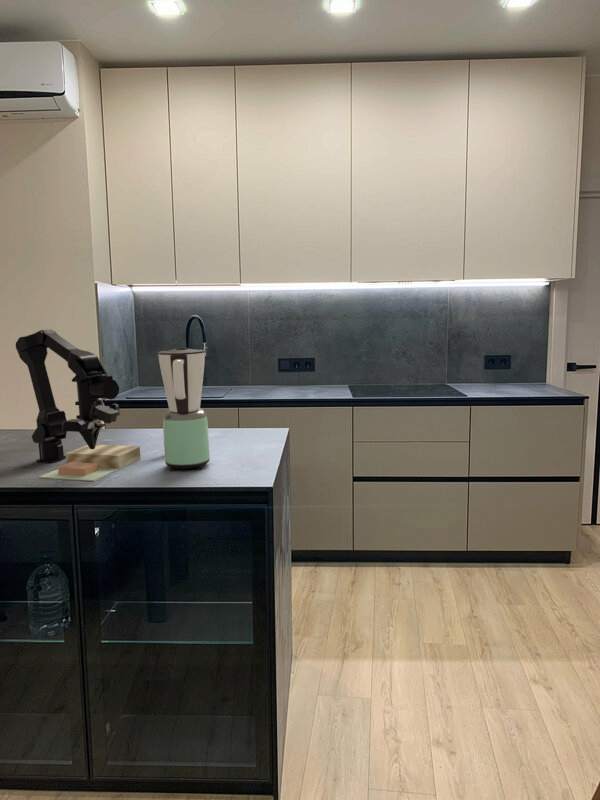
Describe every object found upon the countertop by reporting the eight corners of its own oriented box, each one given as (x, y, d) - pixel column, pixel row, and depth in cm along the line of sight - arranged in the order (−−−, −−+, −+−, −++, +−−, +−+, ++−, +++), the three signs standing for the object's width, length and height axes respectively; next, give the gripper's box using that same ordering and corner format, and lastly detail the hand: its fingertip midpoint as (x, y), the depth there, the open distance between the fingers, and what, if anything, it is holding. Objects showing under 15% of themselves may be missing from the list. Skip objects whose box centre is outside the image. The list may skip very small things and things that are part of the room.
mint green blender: (168, 460, 186) (161, 346, 180) (211, 457, 187) (206, 345, 182) (160, 477, 167) (152, 351, 162) (208, 474, 168) (202, 349, 163)
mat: (38, 477, 170) (38, 476, 169) (65, 466, 181) (65, 465, 181) (94, 481, 165) (94, 480, 165) (118, 469, 176) (118, 468, 176)
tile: (71, 461, 177) (71, 468, 177) (57, 467, 171) (58, 474, 172) (97, 463, 175) (98, 470, 175) (84, 468, 169) (85, 475, 169)
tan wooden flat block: (66, 466, 181) (65, 453, 181) (90, 456, 193) (89, 444, 192) (119, 469, 177) (118, 455, 176) (140, 458, 188) (139, 446, 187)
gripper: (93, 403, 165) (97, 458, 168) (129, 393, 183) (133, 442, 185) (58, 402, 168) (63, 456, 171) (97, 392, 186) (101, 441, 188)
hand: (92, 449), depth 179 cm, fingers closed
